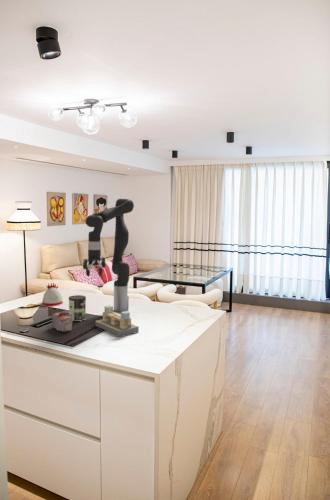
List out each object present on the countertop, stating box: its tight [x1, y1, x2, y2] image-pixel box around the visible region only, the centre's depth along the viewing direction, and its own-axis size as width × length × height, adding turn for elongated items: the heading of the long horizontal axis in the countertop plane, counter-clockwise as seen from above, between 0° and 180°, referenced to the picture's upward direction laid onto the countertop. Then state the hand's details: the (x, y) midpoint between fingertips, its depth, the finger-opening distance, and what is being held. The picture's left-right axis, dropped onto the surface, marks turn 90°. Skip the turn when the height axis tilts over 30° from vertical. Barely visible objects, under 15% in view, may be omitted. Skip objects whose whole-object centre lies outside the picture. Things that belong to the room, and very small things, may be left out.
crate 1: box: [104, 304, 114, 313], centre depth 216 cm, size 4×4×4 cm
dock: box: [95, 318, 140, 337], centre depth 211 cm, size 13×24×3 cm, turn 43°
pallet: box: [102, 311, 132, 329], centre depth 211 cm, size 6×20×5 cm, turn 43°
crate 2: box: [120, 310, 131, 320], centre depth 205 cm, size 4×4×4 cm
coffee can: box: [68, 294, 87, 322], centre depth 227 cm, size 10×10×14 cm
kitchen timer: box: [41, 282, 63, 307], centre depth 263 cm, size 14×14×15 cm
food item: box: [51, 311, 73, 333], centre depth 207 cm, size 14×8×10 cm, turn 45°
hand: (94, 275), depth 223 cm, fingers open, 8 cm apart
